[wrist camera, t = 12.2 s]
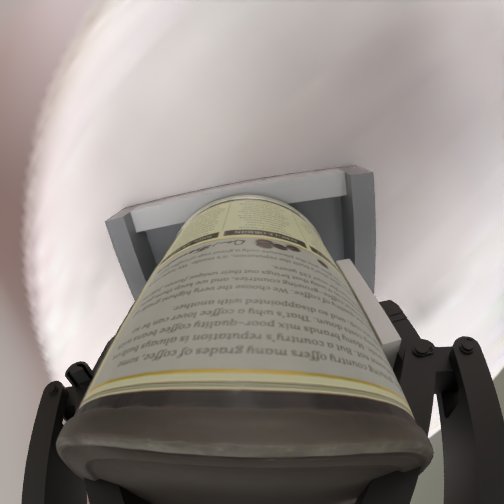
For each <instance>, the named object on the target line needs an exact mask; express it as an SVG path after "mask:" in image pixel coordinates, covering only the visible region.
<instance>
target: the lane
mask: <svg viewBox="0 0 504 504" xmlns="http://www.w3.org/2000/svg"><path fill="white" fill-rule="evenodd" d="M239 195H258V196H265V197H269V198H272V199H276V200H279V201H282V202H284V203H286V204H288V205H290V206H291V207H293V208H295V209H296V210H297V211H299V212H300V213H301V214H302V215H304V216H305V217H306V218H307V219H308V220H309V221H310V222H311V224H312V225H313V226H314V227H315V229H316V230H317V232H318V234H319V235H320V237H321V239H322V241H323V244H324V246H325V247H326V249H327V251H328V252H329V254H330V256H331V257H332V259H333V261H334V262H335V264H336V261H338V260H344V259H350V260H351V261H352V263H353V264H354V266H355V267H356V269H357V270H358V272H359V273H360V275H361V276H362V278H363V279H364V281H365V282H366V284H367V285H368V287H369V288H370V290H371V291H372V293H373V294H374V280H375V248H376V225H375V194H374V178H373V172H371V171H368V170H365V169H363V168H360V167H357V166H349V167H339V168H331V169H322V170H314V171H307V172H300V173H293V174H286V175H279V176H273V177H267V178H261V179H255V180H249V181H244V182H238V183H233V184H227V185H222V186H217V187H212V188H207V189H203V190H198V191H193V192H189V193H184V194H180V195H176V196H171V197H167V198H163V199H159V200H155V201H151V202H147V203H143V204H139V205H135V206H131V207H128V208H124V209H122V210H121V211H120V212H118V213H117V214H115V215H114V216H112V217H111V218H109V219H108V220H107V221H105V223H106V226H107V229H108V232H109V235H110V238H111V241H112V244H113V247H114V249H115V252H116V255H117V258H118V260H119V263H120V266H121V268H122V271H123V273H124V276H125V278H126V281H127V283H128V285H129V288H130V290H131V293H132V295H133V297H134V300H135V301H136V299H137V297H138V296H139V294H140V293H141V291H142V290H143V288H144V286H145V285H146V283H147V281H148V280H149V278H150V276H151V275H152V273H153V271H154V270H155V268H156V267H157V265H158V264H159V263H160V261H161V259H162V258H163V256H164V254H165V253H166V251H167V250H168V248H169V247H170V246H171V244H172V243H173V241H174V240H175V238H176V236H177V234H178V232H179V231H180V229H181V227H182V226H183V225H184V224H185V222H186V221H187V220H188V219H189V218H190V217H191V216H192V215H193V214H195V213H196V212H197V211H198V210H200V209H201V208H203V207H205V206H207V205H208V204H210V203H212V202H214V201H217V200H221V199H224V198H227V197H232V196H239ZM336 266H337V264H336Z"/></svg>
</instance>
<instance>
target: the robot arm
mask: <svg viewBox="0 0 504 504" xmlns="http://www.w3.org/2000/svg"><path fill="white" fill-rule="evenodd" d="M336 264H337V267H338V269H339V271H340V272H341V274H342V276H343V278H344V279H345V281H346V282H347V284H348V286H349V288H350V290H351V292H352V293H353V295H354V297H355V299H356V300H357V302H358V304H359V306H360V308H361V310H362V311H363V313H364V315H365V317H366V319H367V321H368V323H369V325H370V327H371V329H372V331H373V332H374V334H375V336H376V338H377V340H378V342H379V344H380V346H381V348H382V350H383V352H384V354H385V356H386V358H387V360H388V362H389V364H390V366H391V368H392V370H393V372H394V374H395V376H396V378H397V381H398V383H399V385H400V387H401V389H402V391H403V394H404V396H405V398H406V400H407V402H408V405H409V407H410V409H411V412H412V414H413V417H414V419H415V421H416V423H417V425H418V426H420V427H421V428H422V429H423V430H424V431H425V433H426V435H427V437H428V432H429V426H430V420H431V413H432V406H433V397H434V394H436V395H437V401H438V407H439V415H440V422H441V431H442V442H443V456H444V504H504V420H503V416H502V412H501V408H500V404H499V401H498V397H497V394H496V390H495V387H494V384H493V381H492V378H491V375H490V372H489V369H488V366H487V363H486V360H485V358H484V355H483V353H482V350H481V347H480V345H479V344H478V342H477V341H476V340H474V339H473V338H471V337H465V336H463V337H460V338H458V339H456V340H455V342H454V344H453V346H452V347H435V346H434V345H433V343H431V342H430V341H428V340H424V339H421V338H420V337H419V335H418V333H417V332H416V330H415V329H414V327H413V326H412V324H411V323H410V322H409V320H408V319H407V317H406V316H405V314H404V313H403V311H402V310H401V309H400V307H399V306H398V305H397V304H396V303H394V302H393V301H391V300H387V301H383V302H378V300H377V299H376V297H375V296H374V294H373V293H372V291H371V290H370V288H369V287H368V285H367V284H366V282H365V281H364V279H363V278H362V276H361V275H360V273H359V272H358V270H357V269H356V267H355V266H354V264H353V263H352V261H351V260H350V259H344V260H338V261H336ZM113 338H114V337H113ZM113 338H112V339H111V340H110V341H109V342H108V343H107V345H106V346H105V348H104V351H103V352H102V354H101V356H100V357H99V359H98V361H97V363H96V365H95V367H94V368H93V370H91V369H90V367H89V366H88V364H87V363H85V362H81V361H80V362H76V363H74V364H72V365H71V366H70V367H69V368H68V369H67V371H66V373H65V377H66V378H67V379H68V380H69V382H70V383H71V384H72V387H66V388H65V387H64V386H63V384H62V383H61V382H59V381H54V382H51V383H50V384H48V385H47V386H46V388H45V389H44V391H43V394H42V398H41V401H40V405H39V408H38V411H37V415H36V419H35V423H34V427H33V431H32V435H31V440H30V445H29V450H28V455H27V461H26V467H25V474H24V483H23V492H22V504H87V494H88V498H89V502H90V504H152V503H150V502H148V501H146V500H144V499H142V498H140V497H138V496H137V495H135V494H133V493H131V492H130V491H128V490H126V489H124V488H123V487H121V486H120V485H118V484H114V483H111V482H108V481H105V480H103V479H98V480H96V481H92V480H90V479H87V478H84V480H83V479H82V478H80V477H79V476H78V475H76V474H75V473H74V472H73V471H72V470H71V469H70V468H69V467H68V466H67V465H66V464H65V463H64V461H63V460H62V459H61V458H60V456H59V454H58V452H57V449H56V442H57V438H58V436H59V434H60V432H61V430H62V428H63V426H64V425H63V424H62V421H63V419H64V420H65V421H66V422H67V421H68V420H69V419H70V418H72V417H74V414H75V412H76V410H77V409H78V407H79V405H80V403H81V401H82V399H83V397H84V395H85V393H86V391H87V389H88V386H89V384H90V383H91V381H92V379H93V377H94V374H95V372H96V369H97V368H98V366H99V364H100V362H101V360H102V359H103V357H104V355H105V353H106V350H107V348H108V346H109V345H110V343H111V342H112V340H113ZM420 468H421V466H420V467H417V468H415V469H412V470H409V471H407V472H401V471H398V470H397V471H394V472H391V473H389V474H386V475H384V476H381V477H379V478H376V479H373V480H371V482H370V483H369V484H368V485H367V487H366V488H365V489H364V490H363V492H362V493H361V494H360V495H359V497H358V498H357V500H356V502H355V504H410V501H411V498H412V495H413V492H414V489H415V486H416V482H417V479H418V475H419V472H420Z"/></svg>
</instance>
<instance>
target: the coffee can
mask: <svg viewBox="0 0 504 504" xmlns="http://www.w3.org/2000/svg"><path fill="white" fill-rule="evenodd" d="M56 449H57V452H58V454H59V456H60V458H61V459H62V460H63V461H64V463H65V464H66V465H67V466H68V467H69V468H70V469H71V470H72V471H73V472H74V473H75V474H76V475H78V476H79V477H80V478H82V479H83V480H84V478H87V479H90V480H92V481H96V480H98V479H103V480H105V481H108V482H111V483H114V484H118V485H120V486H121V487H123V488H124V489H126V490H128V491H130V492H131V493H133V494H135V495H137V496H138V497H140V498H142V499H144V500H146V501H148V502H150V503H152V504H355V502H356V500H357V498H358V497H359V495H360V494H361V493H362V492H363V490H364V489H365V488H366V487H367V485H368V484H369V483H370V482H371V480H373V479H376V478H379V477H381V476H384V475H386V474H389V473H391V472H394V471H397V470H398V471H401V472H407V471H409V470H412V469H415V468H417V467H420V466H421V468H420V472H419V475H420V474H421V473H422V472H423V471H424V470H425V469H426V467H427V466H428V465H429V464H430V462H431V460H432V458H433V448H432V445H431V443H430V441H429V439H428V437H427V435H426V433H425V431H424V430H423V429H422V428H421V427H420V426H418V425H417V423H416V421H415V419H414V417H413V414H412V412H411V409H410V407H409V405H408V402H407V400H406V398H405V396H404V394H403V391H402V389H401V387H400V385H399V383H398V381H397V378H396V376H395V374H394V372H393V370H392V368H391V366H390V364H389V362H388V360H387V358H386V356H385V354H384V352H383V350H382V348H381V346H380V344H379V342H378V340H377V338H376V336H375V334H374V332H373V331H372V329H371V327H370V325H369V323H368V321H367V319H366V317H365V315H364V313H363V311H362V310H361V308H360V306H359V304H358V302H357V300H356V299H355V297H354V295H353V293H352V292H351V290H350V288H349V286H348V284H347V282H346V281H345V279H344V278H343V276H342V274H341V272H340V271H339V269H338V267H337V266H336V264H335V262H334V261H333V259H332V257H331V256H330V254H329V252H328V251H327V249H326V247H325V246H324V244H323V241H322V239H321V237H320V235H319V234H318V232H317V230H316V229H315V227H314V226H313V225H312V224H311V222H310V221H309V220H308V219H307V218H306V217H305V216H304V215H302V214H301V213H300V212H299V211H297V210H296V209H295V208H293V207H291V206H290V205H288V204H286V203H284V202H282V201H279V200H276V199H272V198H269V197H265V196H258V195H239V196H232V197H227V198H224V199H221V200H217V201H214V202H212V203H210V204H208V205H207V206H205V207H203V208H201V209H200V210H198V211H197V212H196V213H195V214H193V215H192V216H191V217H190V218H189V219H188V220H187V221H186V222H185V224H184V225H183V226H182V227H181V229H180V231H179V232H178V234H177V236H176V238H175V240H174V241H173V243H172V244H171V246H170V247H169V248H168V250H167V251H166V253H165V254H164V256H163V258H162V259H161V261H160V263H159V264H158V265H157V267H156V268H155V270H154V271H153V273H152V275H151V276H150V278H149V280H148V281H147V283H146V285H145V286H144V288H143V290H142V291H141V293H140V294H139V296H138V297H137V299H136V301H135V302H134V304H133V305H132V307H131V308H130V310H129V312H128V314H127V316H126V317H125V319H124V321H123V322H122V324H121V326H120V327H119V329H118V331H117V333H116V335H115V336H114V338H113V340H112V342H111V343H110V345H109V346H108V348H107V350H106V353H105V355H104V357H103V359H102V360H101V362H100V364H99V366H98V368H97V369H96V372H95V374H94V377H93V379H92V381H91V383H90V384H89V386H88V389H87V391H86V393H85V395H84V397H83V399H82V401H81V403H80V405H79V407H78V409H77V410H76V412H75V414H74V417H72V418H70V419H69V420H68V421H67V422H66V423H65V424H64V426H63V428H62V430H61V432H60V434H59V436H58V438H57V442H56Z"/></svg>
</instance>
